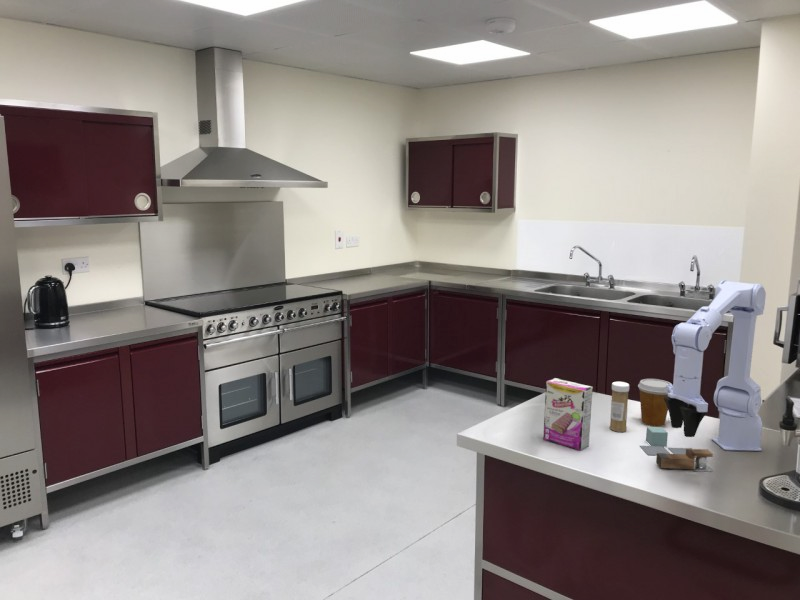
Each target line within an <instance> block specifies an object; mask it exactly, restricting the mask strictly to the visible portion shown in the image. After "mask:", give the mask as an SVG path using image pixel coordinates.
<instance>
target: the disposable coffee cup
mask: <svg viewBox="0 0 800 600" xmlns="http://www.w3.org/2000/svg"><path fill="white" fill-rule="evenodd" d="M666 385H673V384H672V383H671V382H669V381H668V380H667V381H666V380H663V379H658V378H644V379H640V381H639V383H638V384H637V387H638V389H639V399H640V417H641V423H642V424H644V425H646V426H649V425H650V426H649V427H656V426H657V427H663V426H665V425H666V421H667V416H668V413H669V411H668V408H667V405H666V403H665V401H664V397H669V396H668V393H666Z"/></svg>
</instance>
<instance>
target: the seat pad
mask: <svg viewBox="0 0 800 600" xmlns="http://www.w3.org/2000/svg"><path fill="white" fill-rule="evenodd" d="M639 448H640V449H642V451H643V452H644V453H645V454H646V455H647V456H656V457H657V453H665V454H671V452H669V451H668V450H667V449H666V447H663V446H650V445H639Z"/></svg>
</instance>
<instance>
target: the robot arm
mask: <svg viewBox="0 0 800 600" xmlns="http://www.w3.org/2000/svg"><path fill="white" fill-rule="evenodd" d="M714 294H715V295H714V298H713V299H712V301H711V302H710V304H709V305H708V306H707V305H705V306H701V307H700V308H699V309H697V311H696V312H695V313H694V314H693V315H692V316H690V318H689V319H688V320H687V321H685V322H680V323H679V324H676V325H675V326H674V328H673V330H672V335H671V343H672V347H673V350H672V352H673V355H675V358H674V368H673V369H674V370H673V384H672V385H666V393H668V396H669V397H664V401H665V403H666V405H667V408H668V415H669V419H670V425H671V428H672V429H682V427H683V434H684V437H685V438H695V436H696V434H697V431H698V428H699V427H700V424H701V422H702V421H703V419H704V418H705V416H707V414H708V412H709V411H708V407H709V403H708V402H707V401H705V399H704V398H703V397H702V395H701V384H702V373H703V361H704V351H705V350H706V349H707V348H708V346H709V343H710V340H711V339H712V337H713V333H714V332H715V331H716V330H717V329H718V328H719V327H720V326H721V324H722V322H723V318H722V317H723V316H724V315H725V314H726V313H727V312H730V313H731V314H732V316H733V327H732V336H731V344H730V345H731V346H730V355H729V362H728V363H729V364H728V371H727V372H728V374H727V375H726V376H724V377H721V378H720V379H719V380H718V381H717V382H716V388H715V390H714V394H713V402H714V404H715V407H716V408H717V411H718V412H720V413H719V414H720V415H719V422H718V423H719V424H718V436H715V437H714V436H712V437H710V439H711V440H712V441H713V442H714V443H716V444H717V445H718V446H719V447H720V448H722V449H723V450H725V451H747V452H748V451H751V452H752V451H755V452H756V451H757V452H762V450H763V449H762V447H761V442H762V433H763V422H762V419H761V417H760V415H759V412H760V410H761V409H760V408H761V405H762V396H761V395H762V394H761V392H762V391H761V386H760V385H759V384H758V383H757V382H756V381H754V380H753V379H752V378H751V375H750V374H751V367H752V358H753V351H754V350H753V349H754V343H755V342H754V340H755V332H756V331H755V330H756V323H757V318H758V316H761V315H763V314H764V311H765V306H766V305H765V304H766V296H767V295H766V294H767V292H766V289H765V287H764V286H763V284H761V283H752V282H751V283H749V282H748V283H747V282H738V281H728V280H726V279H725V280H724V279H723V280H721V281H719V283H717V285H716V288H715V292H714Z"/></svg>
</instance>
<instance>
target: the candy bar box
mask: <svg viewBox="0 0 800 600" xmlns="http://www.w3.org/2000/svg"><path fill="white" fill-rule="evenodd" d="M593 388H594V387H593V386H591V385H586V384H582V383H578V382H573V381H569V380H565V379H561V378H558V377H557V378H556V377H554V378H551V379H549V380H547V381H546V382H545V399H544V403H545V404H544V419H543V438H542V439H543V440H545V441H548V442H551V443H554V444H557V445H559V446H560V445H561V446H564V447H566V448H567V447H568V448H571V449H573V450H577V451H580V452H581V451H583V450H584V449H586V448H588V447H589V446H590V434H591V433H590V432H591V417H592V401H593Z"/></svg>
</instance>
